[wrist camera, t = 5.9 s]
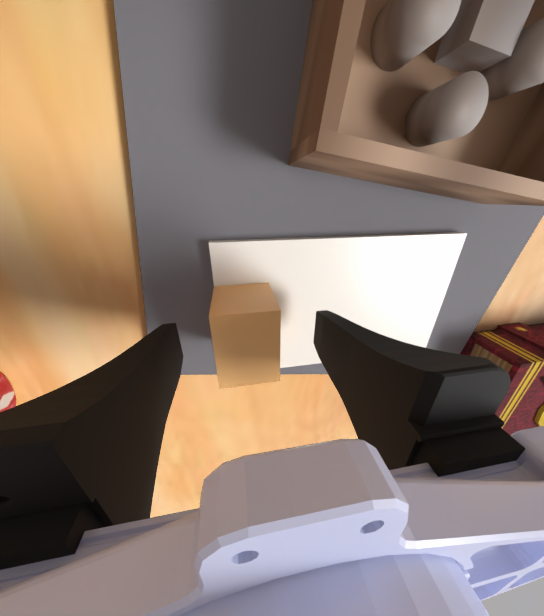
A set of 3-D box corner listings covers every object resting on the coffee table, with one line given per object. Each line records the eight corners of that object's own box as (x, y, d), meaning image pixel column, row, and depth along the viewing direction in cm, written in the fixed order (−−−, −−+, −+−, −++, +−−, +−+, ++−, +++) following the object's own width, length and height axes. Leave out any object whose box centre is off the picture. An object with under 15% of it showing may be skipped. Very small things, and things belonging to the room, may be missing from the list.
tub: (576, 9, 10) (763, -93, 7) (482, 203, 13) (572, 206, 10) (329, -112, 8) (415, -380, 4) (287, 165, 11) (315, 150, 7)
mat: (650, 19, 11) (664, 14, 11) (444, 370, 20) (448, 373, 20) (91, -275, 6) (82, -303, 6) (153, 370, 15) (151, 374, 15)
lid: (458, 232, 14) (537, 244, 10) (419, 346, 18) (467, 384, 14) (209, 240, 12) (200, 260, 8) (225, 368, 16) (224, 420, 12)
